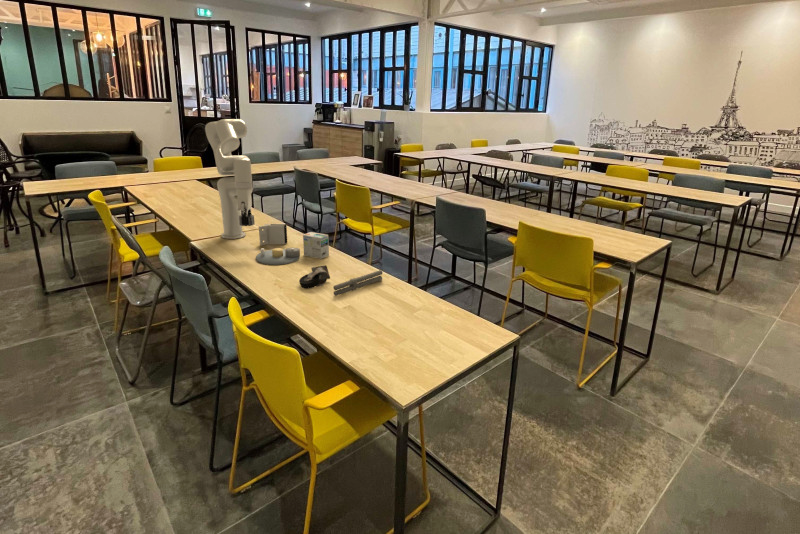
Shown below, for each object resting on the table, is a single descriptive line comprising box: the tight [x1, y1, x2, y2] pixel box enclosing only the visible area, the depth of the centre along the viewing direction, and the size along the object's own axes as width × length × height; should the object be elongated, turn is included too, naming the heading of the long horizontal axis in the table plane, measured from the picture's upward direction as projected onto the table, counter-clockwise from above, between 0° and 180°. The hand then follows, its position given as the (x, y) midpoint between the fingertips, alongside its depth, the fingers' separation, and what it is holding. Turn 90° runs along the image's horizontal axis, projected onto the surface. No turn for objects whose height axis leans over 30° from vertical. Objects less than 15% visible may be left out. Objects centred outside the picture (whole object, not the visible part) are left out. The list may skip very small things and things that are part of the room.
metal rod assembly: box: [333, 269, 383, 297], centre depth 189 cm, size 26×3×5 cm, turn 137°
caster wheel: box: [298, 265, 331, 290], centre depth 190 cm, size 7×11×10 cm
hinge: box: [258, 223, 288, 246], centre depth 239 cm, size 14×5×10 cm, turn 106°
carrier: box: [255, 247, 301, 266], centre depth 219 cm, size 20×20×4 cm
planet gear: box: [239, 214, 255, 227], centre depth 218 cm, size 7×7×4 cm
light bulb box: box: [302, 231, 330, 260], centre depth 223 cm, size 11×7×11 cm, turn 65°
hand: (246, 222), depth 219 cm, fingers closed on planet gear, 6 cm apart
